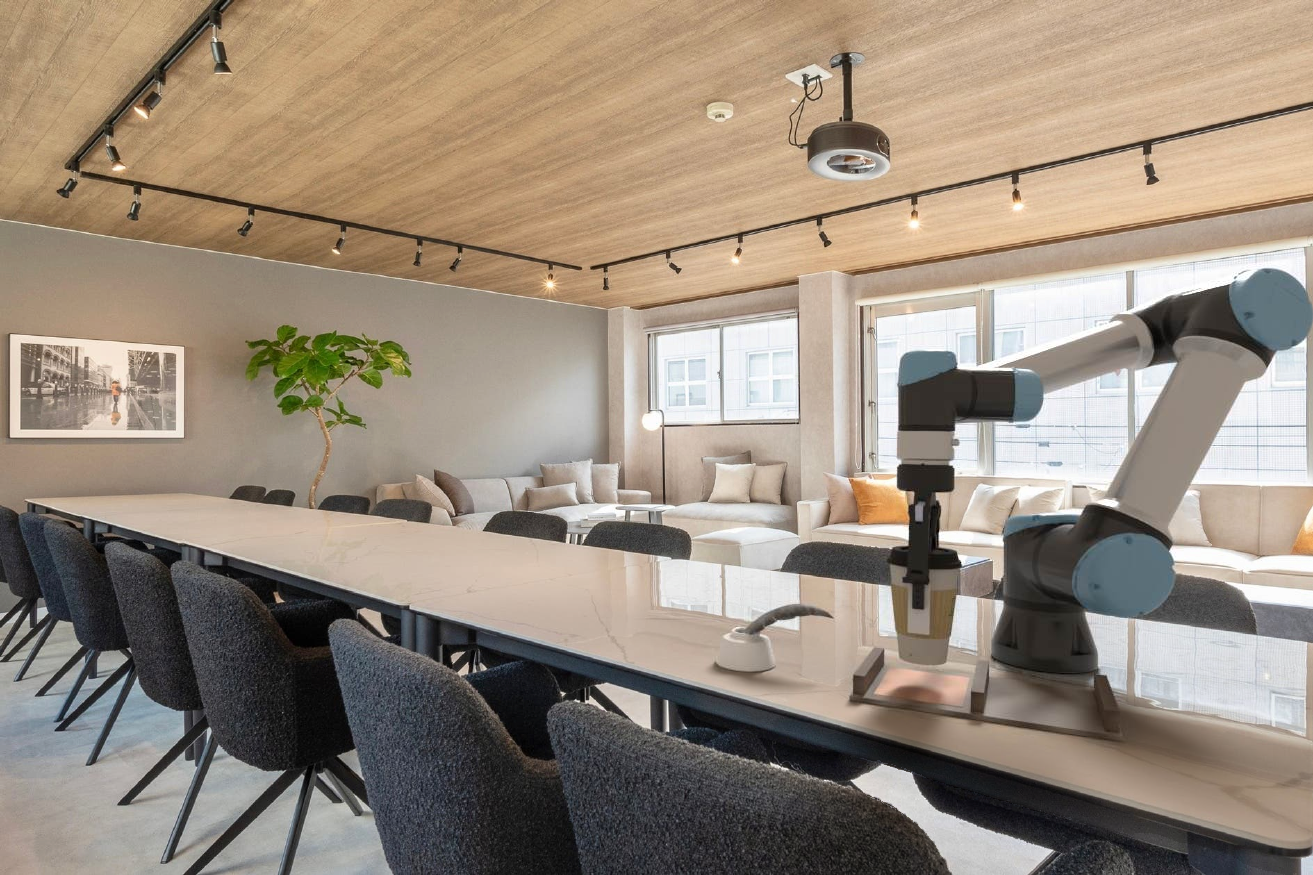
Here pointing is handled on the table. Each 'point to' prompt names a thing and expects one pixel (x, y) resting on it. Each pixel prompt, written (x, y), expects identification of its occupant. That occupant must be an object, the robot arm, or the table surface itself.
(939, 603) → the coffee cup
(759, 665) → the inkwell
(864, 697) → the slot rack
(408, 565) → the table surface
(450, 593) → the table surface
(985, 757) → the table surface
